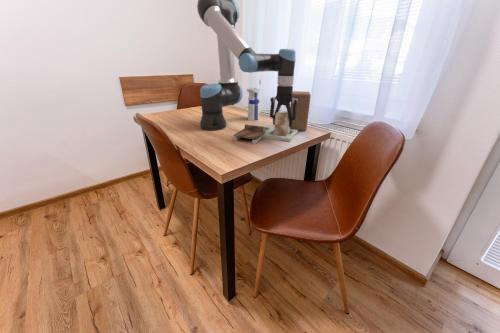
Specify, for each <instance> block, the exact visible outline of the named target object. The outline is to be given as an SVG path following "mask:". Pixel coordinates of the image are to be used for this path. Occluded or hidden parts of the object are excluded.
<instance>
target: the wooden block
mask: <svg viewBox="0 0 500 333" xmlns="http://www.w3.org/2000/svg"><path fill="white" fill-rule="evenodd" d="M292 96H293V98H294V99H298V102H297V111H296V119H295V120H292V126H291V127H290V129H294V130H298V131H300V130H301V131H302V132H303V131H304V132H305V131H307V129H308V128H307V127H308V119H309V111H310V103H311V93H310V91H296V90H293V91H292ZM290 108H291V113H292V117H293V101H291V102H290Z"/></svg>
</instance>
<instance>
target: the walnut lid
mask: <svg viewBox="0 0 500 333" xmlns="http://www.w3.org/2000/svg"><path fill="white" fill-rule="evenodd" d="M255 125H256V124H255ZM255 125H252V124H248V123H246V124H244V128H243V129H241V130H239V131H238V132H236V133H234V134H233V137H241V138H243V139H249V140H254V139H255V140H257V139H258V138H259V137H260V136H262V135H263V134H264V133H265V131H263V126H264V125H263V126H255Z"/></svg>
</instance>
